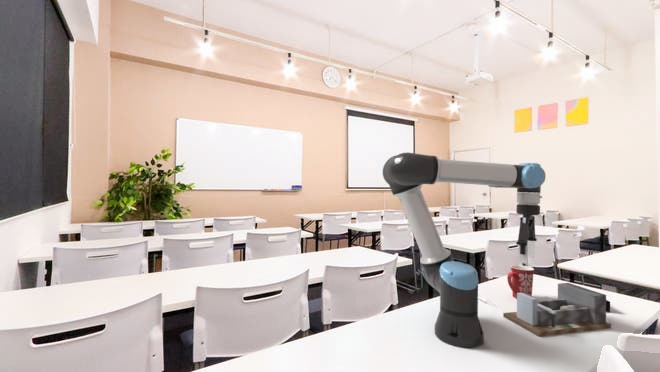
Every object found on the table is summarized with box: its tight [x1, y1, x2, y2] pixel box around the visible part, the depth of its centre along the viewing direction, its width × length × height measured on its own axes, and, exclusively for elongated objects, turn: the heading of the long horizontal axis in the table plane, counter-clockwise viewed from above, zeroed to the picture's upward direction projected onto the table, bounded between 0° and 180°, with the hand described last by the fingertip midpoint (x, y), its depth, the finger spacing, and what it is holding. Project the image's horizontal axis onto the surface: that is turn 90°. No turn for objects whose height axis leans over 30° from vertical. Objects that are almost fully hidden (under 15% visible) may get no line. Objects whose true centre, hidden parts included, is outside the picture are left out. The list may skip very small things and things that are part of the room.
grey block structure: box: [502, 282, 612, 338], centre depth 114 cm, size 30×16×12 cm, turn 102°
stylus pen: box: [478, 294, 505, 312], centre depth 131 cm, size 15×3×2 cm, turn 17°
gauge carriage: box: [516, 293, 556, 328], centre depth 110 cm, size 8×11×9 cm
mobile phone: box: [606, 299, 611, 313], centre depth 130 cm, size 5×3×15 cm
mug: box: [506, 264, 535, 299], centre depth 139 cm, size 13×9×14 cm
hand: (526, 260), depth 118 cm, fingers open, 13 cm apart
